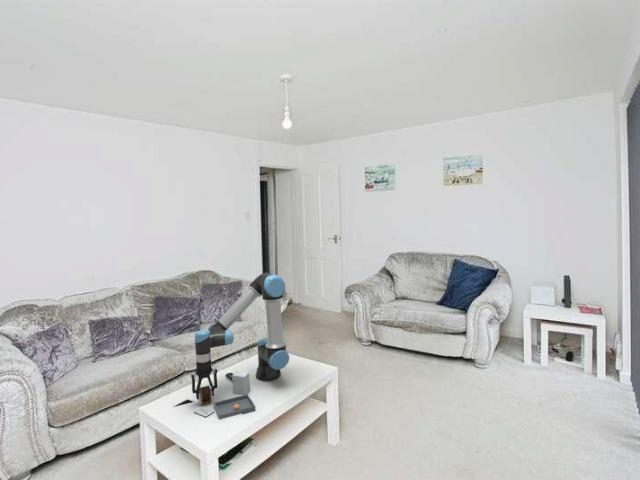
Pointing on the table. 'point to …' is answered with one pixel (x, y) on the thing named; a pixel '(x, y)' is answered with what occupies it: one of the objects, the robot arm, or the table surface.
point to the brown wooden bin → (205, 396)
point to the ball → (236, 407)
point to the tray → (226, 406)
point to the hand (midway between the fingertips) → (205, 403)
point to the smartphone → (184, 402)
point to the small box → (241, 383)
